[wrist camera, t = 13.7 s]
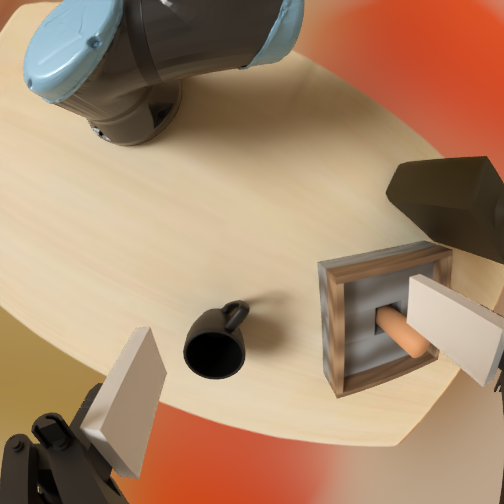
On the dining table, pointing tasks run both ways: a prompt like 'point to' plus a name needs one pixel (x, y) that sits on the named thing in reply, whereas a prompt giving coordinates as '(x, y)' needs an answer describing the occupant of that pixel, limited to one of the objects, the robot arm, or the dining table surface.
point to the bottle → (454, 202)
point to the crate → (372, 313)
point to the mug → (217, 342)
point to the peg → (401, 330)
